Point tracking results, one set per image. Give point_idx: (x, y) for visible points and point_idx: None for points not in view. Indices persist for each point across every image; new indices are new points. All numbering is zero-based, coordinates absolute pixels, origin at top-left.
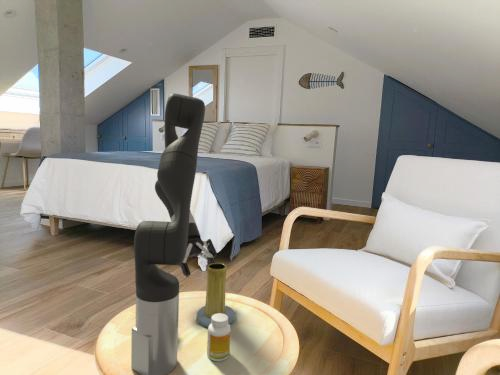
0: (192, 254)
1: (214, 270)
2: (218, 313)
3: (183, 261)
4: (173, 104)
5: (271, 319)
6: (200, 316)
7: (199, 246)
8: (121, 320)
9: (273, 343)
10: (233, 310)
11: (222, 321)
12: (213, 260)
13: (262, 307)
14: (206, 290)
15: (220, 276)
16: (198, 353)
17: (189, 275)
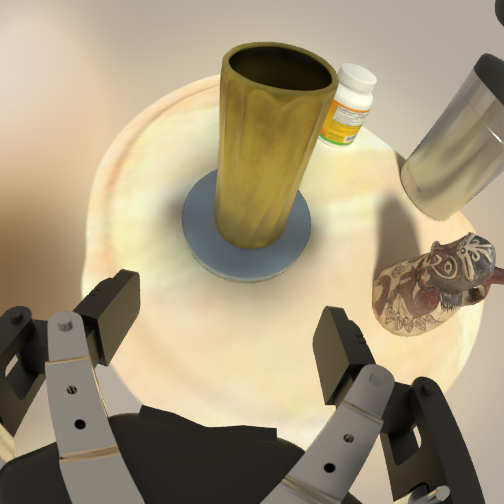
0: (262, 428)
1: (321, 62)
2: (355, 78)
3: (383, 375)
4: None
5: (141, 137)
6: (300, 233)
7: (108, 455)
8: (446, 376)
9: None
10: (190, 193)
11: (360, 66)
12: (76, 307)
13: (98, 184)
14: (299, 183)
15: (286, 74)
16: (361, 158)
17: (321, 319)
